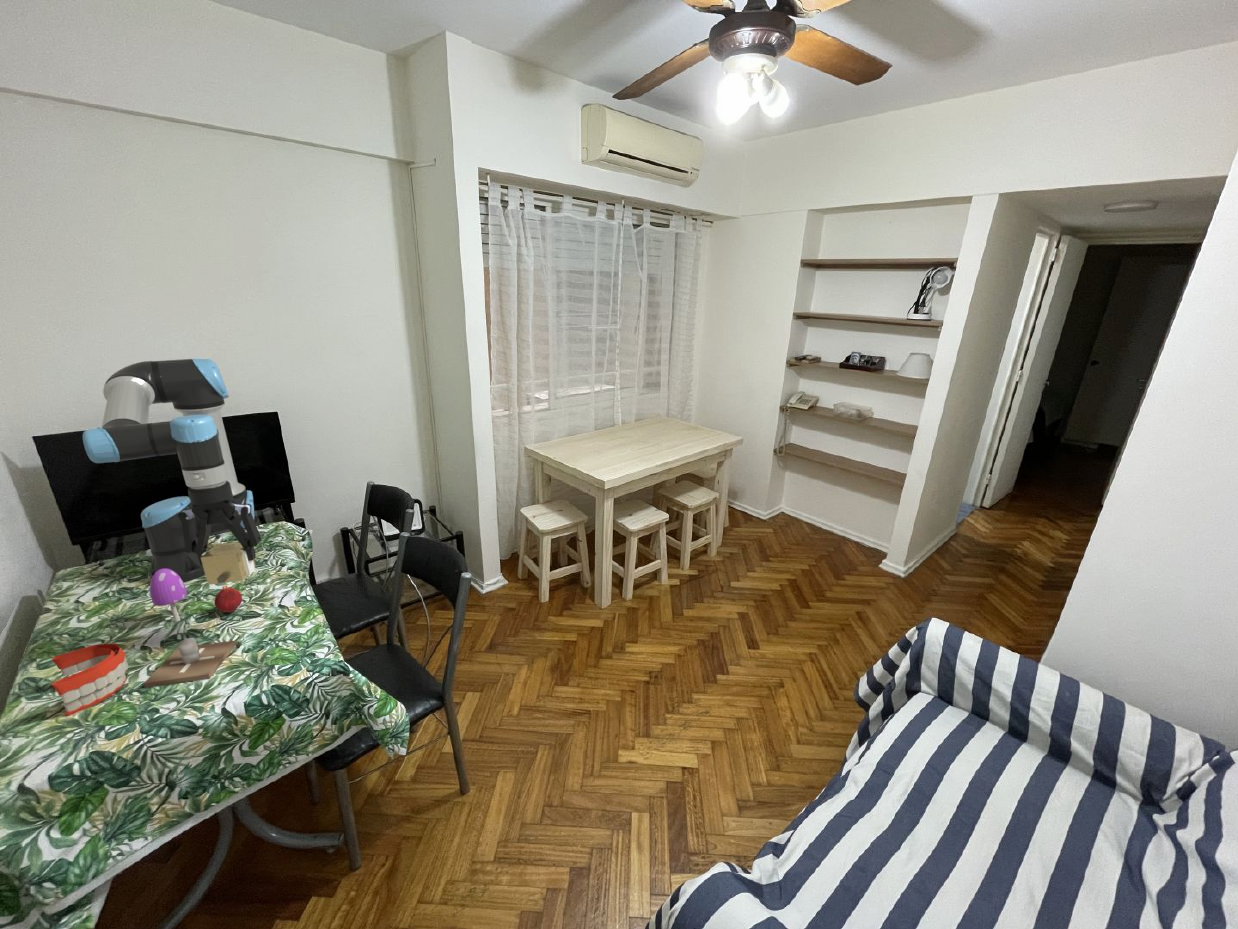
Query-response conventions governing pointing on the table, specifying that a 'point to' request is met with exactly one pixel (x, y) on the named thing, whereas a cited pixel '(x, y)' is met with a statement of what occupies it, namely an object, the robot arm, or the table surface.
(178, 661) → the flat board
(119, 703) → the table surface
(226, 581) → the block with peg
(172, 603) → the toy
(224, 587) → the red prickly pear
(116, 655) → the toy
